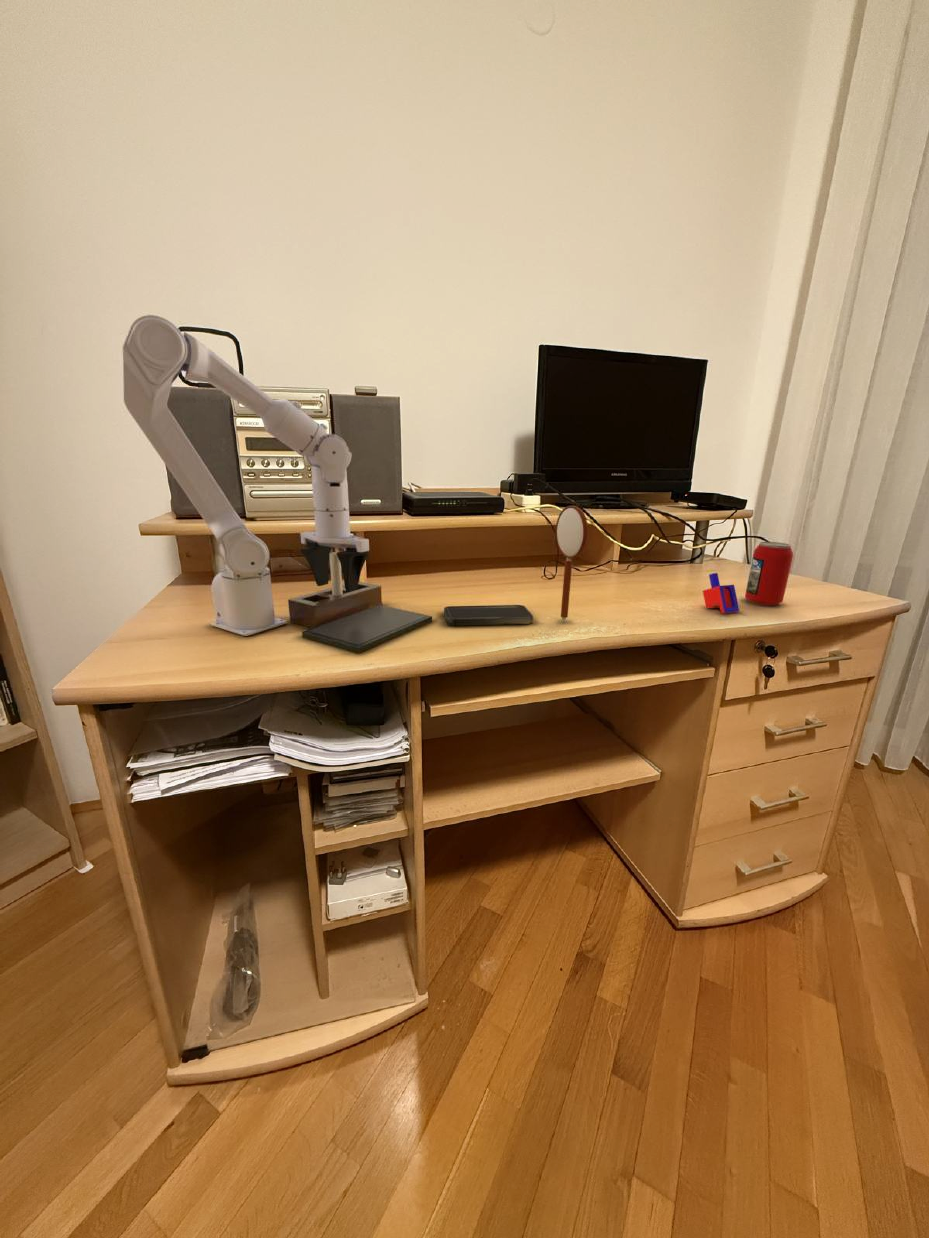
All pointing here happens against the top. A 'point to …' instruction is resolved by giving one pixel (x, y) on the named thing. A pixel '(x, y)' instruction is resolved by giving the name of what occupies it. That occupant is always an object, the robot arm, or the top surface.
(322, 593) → the pen stand
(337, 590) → the stylus
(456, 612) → the phone
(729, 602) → the toy building block
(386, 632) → the tablet
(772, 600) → the beverage can
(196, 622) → the top surface
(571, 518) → the magnifying glass
